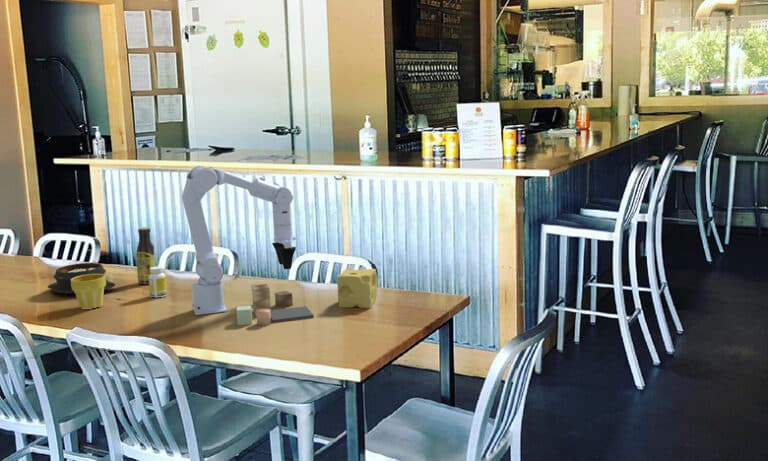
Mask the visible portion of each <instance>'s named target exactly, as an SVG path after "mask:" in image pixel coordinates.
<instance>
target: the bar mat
mask: <svg viewBox="0 0 768 461" xmlns="http://www.w3.org/2000/svg"><path fill="white" fill-rule="evenodd" d="M270 312H271V323H272V324H273V323H280V322H287V321H288V322H289V321H290V322H291V321H297V320H303V319H311V318H312V319H313V318H314V314H313V313H312V311H311V310H310V309H309V308H308V306H305V305H304V306H299V307H298V306H297V307H290V308H288V307H287V308H280V309H271V311H270Z"/></svg>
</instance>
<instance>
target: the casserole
mask: <svg viewBox="0 0 768 461" xmlns="http://www.w3.org/2000/svg"><path fill="white" fill-rule="evenodd" d="M106 272H107V269H105V268H104V266H103V264H101V263H96V262H82V263H74V264H73V263H72V264H68V265H64V266H61V267H59V268H57V269H56V270H55V273H54V275H53V277H52V278H54V280H55V281H56V282H54V283H50V284H48V285H47V289H51V290H52V291H53V292H55V293H60V294H64V293H65V294H64V295H68V294H75V292H74V291H73V290H72V287H71V279H72V278H74V277H77V276H81V275H87V274H103V275H105V273H106ZM115 286H116V283H114V282H111V281H109V280H107V279H106V286H105V287H104V291H106V290H109V289H112V288H113V287H115Z"/></svg>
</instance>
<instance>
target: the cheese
mask: <svg viewBox="0 0 768 461" xmlns="http://www.w3.org/2000/svg"><path fill="white" fill-rule="evenodd" d="M336 280H337V281H336V282H337V301H338V307H339V308H357V307H358V308H359V309H371V308H372V306H373V305H374V303H375V302H376V301H377V298H378V297H377V295H378V277H377V270H376V268H368V269H365V268H364V269H344V270H343V271H342V272H341V273H340V274H339V275H337V279H336Z"/></svg>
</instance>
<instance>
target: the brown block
mask: <svg viewBox="0 0 768 461" xmlns="http://www.w3.org/2000/svg"><path fill="white" fill-rule="evenodd" d="M256 314H257V315H256ZM256 314H255V315H256V325H257V326H260V327H267V326H271V324H272V321H271V312H270V309H259V310H257V311H256Z"/></svg>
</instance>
